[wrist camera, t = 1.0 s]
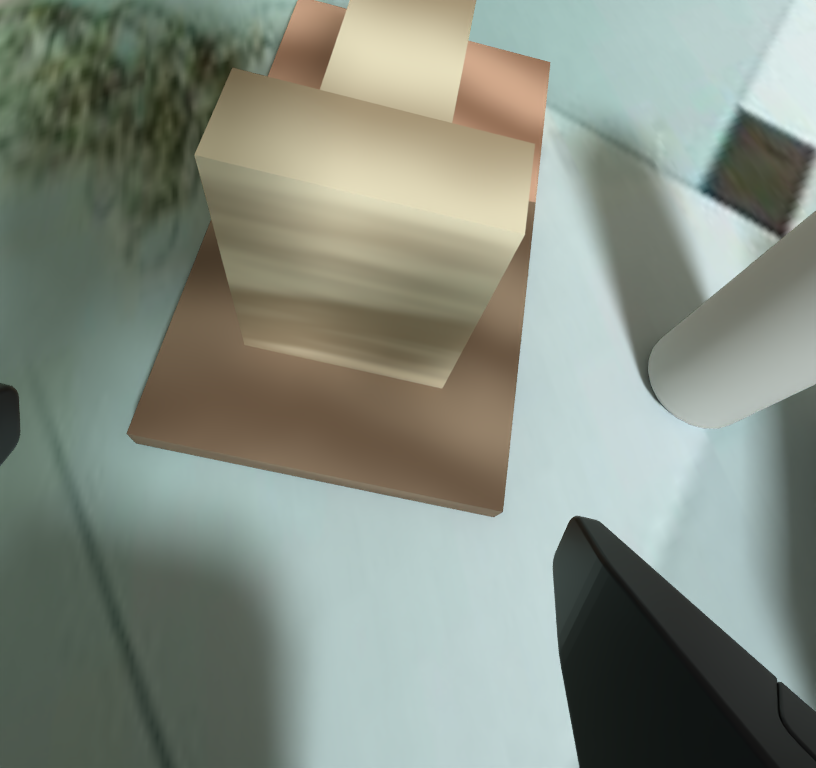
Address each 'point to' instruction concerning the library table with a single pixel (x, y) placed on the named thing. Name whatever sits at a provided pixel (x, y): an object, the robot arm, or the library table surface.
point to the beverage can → (744, 339)
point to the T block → (365, 198)
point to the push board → (344, 387)
